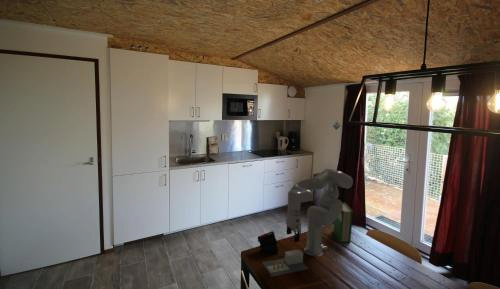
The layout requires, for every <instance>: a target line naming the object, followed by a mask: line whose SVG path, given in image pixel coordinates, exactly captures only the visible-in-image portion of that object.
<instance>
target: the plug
mask: <svg viewBox="0 0 500 289" xmlns="http://www.w3.org/2000/svg"><path fill="white" fill-rule="evenodd" d="M308 252H310V250H304V249H303V250H301V249H295V250H289V251H284V258H285V262H286V263H287V264H288V265H291V264H297V263H302V262H303V263H304V260H303V259H304V254H307V253H308Z"/></svg>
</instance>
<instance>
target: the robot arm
mask: <svg viewBox="0 0 500 289" xmlns="http://www.w3.org/2000/svg"><path fill="white" fill-rule="evenodd" d="M353 184H354V180H353V177H352V176H350V175H349V174H346V173H344V172H343V171H340V170H336V169H332V168H326V169H323V170H322V171H320V173H318V174H317V175H315V176H314V177H311V178H307V179H303V180H300V181H298V182H297V183H295V184H294V185H292V187H291V189H290V190H289V191H288V192H287V210H286V212H287V215H286V219H285V222H286V235H291V234H293V233H294V237H293V242H294V243H298V242H300V239H301V237H300V236H301V235H302V218H301V206H302V205H301V203H308V202H310V201H311V200H312V199H313V197H314V193H313V192H312V191H313V190H314V191H315V190H317V191H319V190H322V189H323V188H325V187H326V186H327V189H326V190H325V191H324V193H323V194H322V195H321V196H320V198H319V199H318V201H317V206H315V205H311V206H310V207H308V209H307V212H306V218H307V234H306V246H305V247H304V249H303V251H304V250H310V252H308V253H306V255H309V256H311V257H321V256H323V254H324V250H328V246H327V245H324V244H323V231H324V230H323V229H324V228H323V227H331V226H332V225H334V221H335V220H336V218H337V217H338V216H339V214H340V213H341V211H342V208H343V204H342V203H343V201H341V199H338V198H339V194H340V193H339V188H338V187H340V188H343V189H348V190H349V189H350V188H352V186H353ZM292 232H293V233H292Z"/></svg>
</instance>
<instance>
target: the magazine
mask: <svg viewBox="0 0 500 289" xmlns="http://www.w3.org/2000/svg"><path fill="white" fill-rule="evenodd" d="M257 242H258V243H259V248H260V253H261V254H262V253H264V254H278V252H279V248H278V239H277V238H276V235H275V231H273V230H271V231H269V232H267V233H263V234H261V235H258V236H257Z"/></svg>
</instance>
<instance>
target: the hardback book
mask: <svg viewBox="0 0 500 289" xmlns="http://www.w3.org/2000/svg"><path fill="white" fill-rule="evenodd" d="M342 204H343V208H342V211H341V213H340V214H339V216H338V217H337V218H336V220H335V221H334V222H333V234H334V235H335V237H336V236H337V237H336V238H338V239H337V240H338V243H340V242H341V243H342V242H345V243H348V242H349V243H348V244H351V239H352V227H353V214H354V213H353V212H354V211H353V210H352V208H351V207H350V206H349V205H348V204H347V202H342Z"/></svg>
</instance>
